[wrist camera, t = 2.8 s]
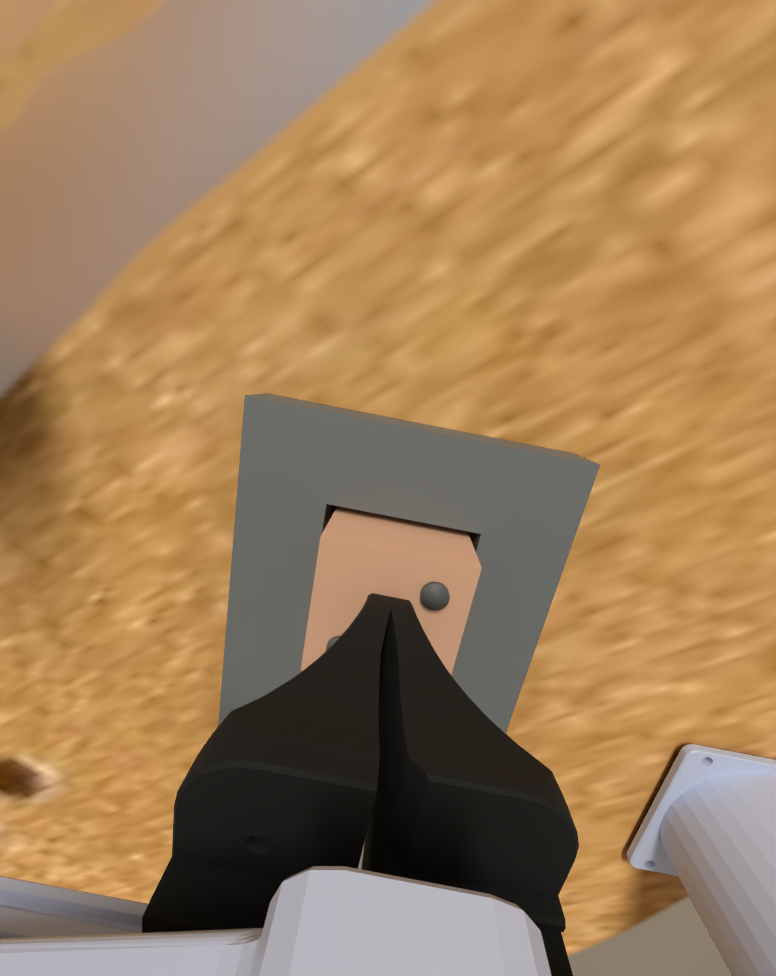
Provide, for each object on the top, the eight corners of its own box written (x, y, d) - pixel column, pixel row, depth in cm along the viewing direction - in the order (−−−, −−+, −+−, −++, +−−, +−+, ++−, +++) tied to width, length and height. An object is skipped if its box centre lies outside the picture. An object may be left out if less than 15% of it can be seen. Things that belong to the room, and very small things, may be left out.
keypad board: (574, 453, 15) (599, 464, 13) (421, 917, 22) (423, 968, 20) (266, 393, 15) (244, 395, 13) (220, 878, 22) (202, 925, 20)
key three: (463, 521, 15) (483, 570, 11) (436, 625, 17) (445, 702, 13) (342, 497, 15) (319, 538, 11) (325, 603, 17) (298, 674, 13)
